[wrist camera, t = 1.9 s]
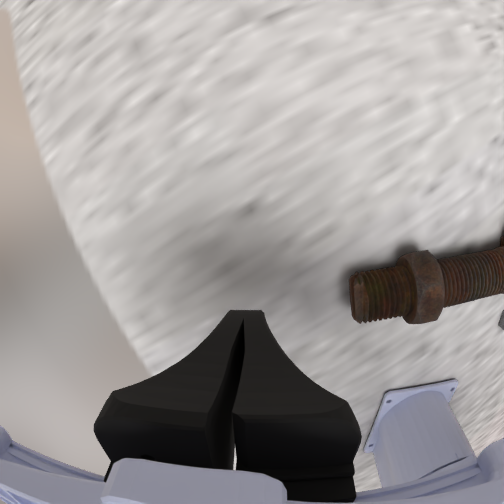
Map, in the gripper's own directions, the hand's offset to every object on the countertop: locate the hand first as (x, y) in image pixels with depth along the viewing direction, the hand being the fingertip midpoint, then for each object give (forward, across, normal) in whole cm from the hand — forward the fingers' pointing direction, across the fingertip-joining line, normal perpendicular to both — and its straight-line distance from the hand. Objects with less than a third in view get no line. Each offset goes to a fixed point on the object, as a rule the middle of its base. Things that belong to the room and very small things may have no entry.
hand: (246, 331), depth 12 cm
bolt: (+8, -13, +1) cm, 16 cm away
